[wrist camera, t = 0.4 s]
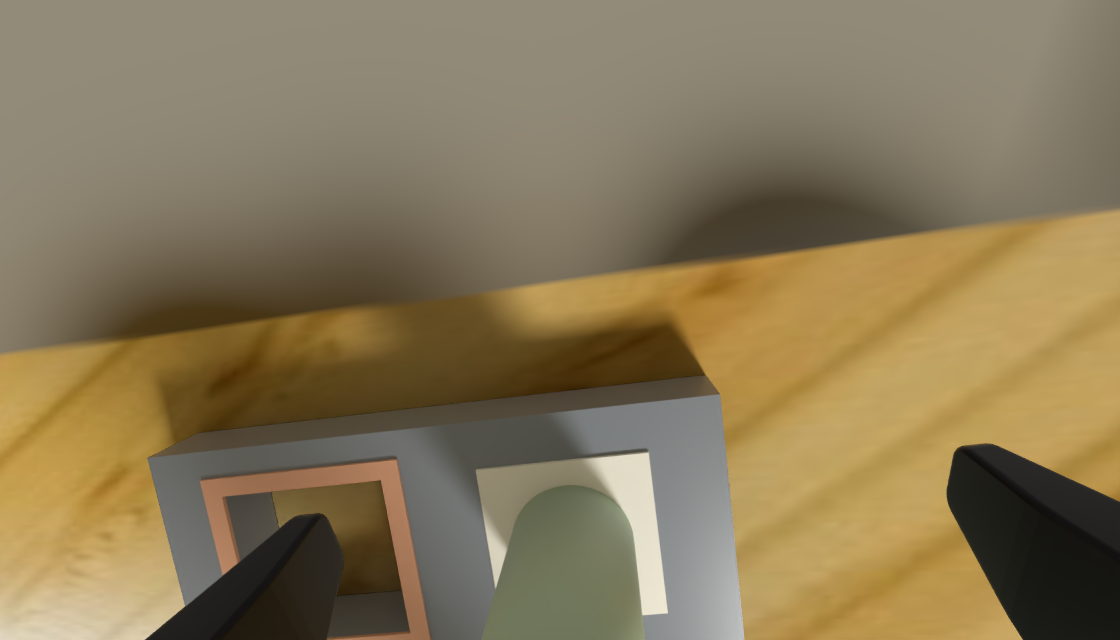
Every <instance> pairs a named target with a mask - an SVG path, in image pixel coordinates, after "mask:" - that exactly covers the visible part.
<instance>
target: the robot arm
mask: <svg viewBox="0 0 1120 640" xmlns="http://www.w3.org/2000/svg"><path fill="white" fill-rule="evenodd" d="M947 501H948V505H949V507H950V510H951V512H952V514H953V515H954V517H955V519H956V521H957V523H958V525H959V527H960V529H961V530H962V532H963V534H964V536H965V538H966V540H967V542H968V543H969V545H970V547H971V549H972V551H973V553H974V555H975V557H976V558H977V560H978V562H979V564H980V566H981V568H982V570H983V571H984V573H985V575H986V577H987V579H988V581H989V583H990V585H991V586H992V588H993V590H994V592H995V594H996V596H997V598H998V599H999V601H1000V603H1001V605H1002V606H1003V608H1004V610H1005V612H1006V613H1007V615H1008V617H1009V619H1010V620H1011V622H1012V623H1013V625H1014V626H1015V628H1016V630H1017V631H1018V633H1019V634H1020V636H1021V637H1022V639H1023V640H1120V502H1119V501H1117V500H1115V499H1113V498H1110V497H1108V496H1106V495H1104V494H1102V493H1100V492H1097V491H1095V490H1093V489H1091V488H1089V487H1086V486H1084V485H1082V484H1080V483H1078V482H1076V481H1073V480H1071V479H1069V478H1067V477H1065V476H1062V475H1060V474H1058V473H1056V472H1054V471H1051V470H1049V469H1047V468H1045V467H1043V466H1041V465H1038V464H1036V463H1034V462H1032V461H1030V460H1027V459H1025V458H1023V457H1021V456H1019V455H1017V454H1014V453H1012V452H1010V451H1008V450H1006V449H1003V448H1001V447H999V446H996V445H994V444H987V443H985V444H975V445H965V446H961V447H958V448H957V449H956V451H955V452H954V455H953V459H952V465H951V470H950V475H949V480H948V485H947ZM342 570H343V553H342V549H341V547H340V545H339V543H338V540H337V538H336V536H335V534H334V532H333V529H332V527H331V525H330V523H329V521H328V519H327V517H326V516H325V515H323V514H320V513H315V514H306V515H299V516H295V517H293V518H292V519H291V520H289V521H288V522H287V523H286V524H284V525H283V526H282V527H281V528H280V529H278V530H277V531H276V532H275V533H274V534H272V535H271V536H270V537H269V538H267V539H266V540H265V541H264V542H263V543H261V544H260V545H259V546H258V547H257V548H255V549H254V550H253V551H252V552H251V553H249V554H248V555H247V556H246V557H245V558H243V559H242V560H241V561H240V562H238V563H237V564H236V565H235V566H234V567H232V568H231V569H230V570H229V571H228V572H226V573H225V574H224V575H223V576H222V577H220V578H219V579H218V580H217V581H215V582H214V583H213V584H212V585H211V586H209V587H208V588H207V589H206V590H205V591H203V592H202V593H201V594H200V595H199V596H197V597H196V598H195V599H194V600H192V601H191V602H190V603H189V604H188V605H186V606H185V607H184V608H183V609H182V610H180V611H179V612H178V613H177V614H176V615H174V616H173V617H172V618H171V619H169V620H168V621H167V622H166V623H165V624H163V625H162V626H161V627H160V628H159V629H157V630H156V631H155V632H154V633H153V634H151V635H150V636H149V637H148V638H146V639H145V640H327V637H328V632H329V628H330V623H331V619H332V614H333V610H334V605H335V601H336V597H337V592H338V588H339V583H340V579H341V574H342Z"/></svg>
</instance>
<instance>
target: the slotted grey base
mask: <svg viewBox="0 0 1120 640" xmlns="http://www.w3.org/2000/svg"><path fill="white" fill-rule="evenodd" d="M148 462H149V466H150V470H151V474H152V478H153V482H154V486H155V490H156V493H157V497H158V501H159V505H160V509H161V513H162V517H163V521H164V525H165V529H166V533H167V537H168V541H169V544H170V548H171V552H172V556H173V560H174V564H175V568H176V572H177V576H178V580H179V584H180V588H181V592H182V595H183V599H184V603H185V606H186V605H188V604H189V603H190V602H191V601H192V600H194V599H195V598H196V597H197V596H199V595H200V594H201V593H202V592H203V591H205V590H206V589H207V588H208V587H209V586H211V585H212V584H213V583H214V582H215V581H217V580H218V579H219V578H220V577H222V576H223V575H224V574H225V573H226V572H228V571H229V570H230V569H231V568H232V567H234V566H235V565H236V564H237V563H238V562H240V561H241V560H242V559H243V558H245V557H246V556H247V555H248V554H249V553H251V552H252V551H253V550H254V549H255V548H257V547H258V546H259V545H260V544H261V543H263V542H264V541H265V540H266V539H267V538H269V537H270V536H271V535H272V534H274V533H275V532H276V531H277V530H278V529H279V527H278V522H277V518H276V513H275V509H274V504H273V500H272V495H271V492H273V491H283V490H292V489H302V488H312V487H321V486H331V485H341V484H350V483H360V482H370V481H379V480H381V484H382V489H383V494H384V499H385V504H386V509H387V515H388V520H389V525H390V530H391V535H392V540H393V546H394V551H395V556H396V561H397V566H398V572H399V577H400V582H401V587H402V591H391V592H379V593H367V594H356V595H344V596H337V597H336V601H335V605H334V610H333V614H332V619H331V623H330V628H329V632H328V637H327V640H481V638H482V635H483V631H484V628H485V624H486V621H487V617H488V614H489V610H490V607H491V604H492V600H493V597H494V593H495V590H496V586H497V583H498V579H499V576H500V573H501V569H502V566H503V562H504V559H505V555H506V552H507V548H508V545H509V542H510V538H511V535H512V531H513V528H514V524H515V522H516V519H517V517H518V515H519V513H520V512H521V510H522V509H523V507H524V506H525V505H526V504H527V503H528V502H529V501H530V500H531V499H532V498H534V497H535V496H536V495H538V494H540V493H542V492H543V491H545V490H548V489H551V488H554V487H558V486H566V485H577V486H584V487H588V488H591V489H594V490H597V491H599V492H601V493H603V494H605V495H606V496H608V497H609V498H611V499H612V500H613V501H614V502H615V503H616V504H617V505H618V506H619V507H620V508H621V509H622V510H623V512H624V513H625V515H626V516H627V518H628V520H629V522H630V524H631V527H632V531H633V536H634V544H635V553H636V562H637V571H638V580H639V589H640V598H641V607H642V616H643V625H644V634H645V640H744V630H743V620H742V610H741V600H740V590H739V580H738V570H737V560H736V550H735V540H734V530H733V520H732V509H731V499H730V489H729V479H728V469H727V459H726V449H725V439H724V429H723V419H722V409H721V398H720V393H719V392H718V391H717V389H716V388H715V387H714V385H713V384H712V383H711V381H710V380H709V379H708V377H707V376H706V375H701V376H692V377H683V378H675V379H666V380H657V381H648V382H640V383H631V384H622V385H613V386H605V387H596V388H587V389H578V390H570V391H561V392H552V393H543V394H535V395H526V396H517V397H509V398H500V399H491V400H482V401H474V402H465V403H456V404H447V405H439V406H430V407H421V408H412V409H404V410H395V411H386V412H377V413H369V414H360V415H351V416H342V417H334V418H325V419H316V420H307V421H299V422H290V423H281V424H273V425H264V426H255V427H246V428H238V429H229V430H220V431H211V432H203V433H196V434H194V435H192V436H190V437H188V438H186V439H184V440H182V441H180V442H178V443H176V444H174V445H172V446H170V447H168V448H166V449H164V450H162V451H160V452H158V453H156V454H154V455H152V456H150V457H148Z"/></svg>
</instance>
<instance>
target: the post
mask: <svg viewBox="0 0 1120 640" xmlns="http://www.w3.org/2000/svg"><path fill="white" fill-rule="evenodd" d="M481 640H645V634H644V625H643V616H642V607H641V598H640V589H639V580H638V571H637V562H636V553H635V544H634V536H633V531H632V527H631V524H630V522H629V520H628V518H627V516H626V515H625V513H624V512H623V510H622V509H621V508H620V507H619V506H618V505H617V504H616V503H615V502H614V501H613V500H612V499H611V498H609V497H608V496H606V495H605V494H603V493H601V492H599V491H597V490H594V489H591V488H588V487H584V486H577V485H566V486H558V487H554V488H551V489H548V490H545V491H543V492H542V493H540V494H538V495H536V496H535V497H534V498H532V499H531V500H530V501H529V502H528V503H527V504H526V505H525V506H524V507H523V509H522V510H521V512H520V513H519V515H518V517H517V519H516V522H515V524H514V528H513V531H512V535H511V538H510V542H509V545H508V548H507V552H506V555H505V559H504V562H503V566H502V569H501V573H500V576H499V579H498V583H497V586H496V590H495V593H494V597H493V600H492V604H491V607H490V610H489V614H488V617H487V621H486V624H485V628H484V631H483V635H482V638H481Z"/></svg>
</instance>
